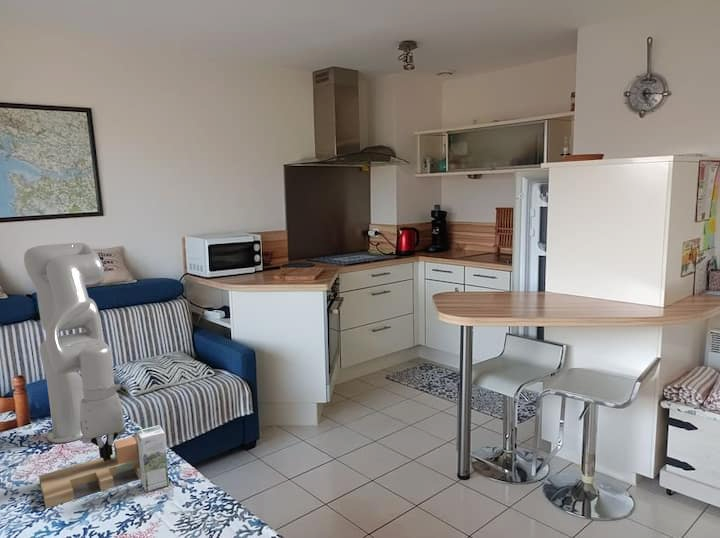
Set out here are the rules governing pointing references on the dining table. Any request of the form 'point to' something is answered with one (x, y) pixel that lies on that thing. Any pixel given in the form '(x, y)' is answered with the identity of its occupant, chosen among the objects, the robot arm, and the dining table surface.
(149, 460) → the syrup box
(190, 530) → the dining table surface
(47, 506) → the board
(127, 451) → the orange block
